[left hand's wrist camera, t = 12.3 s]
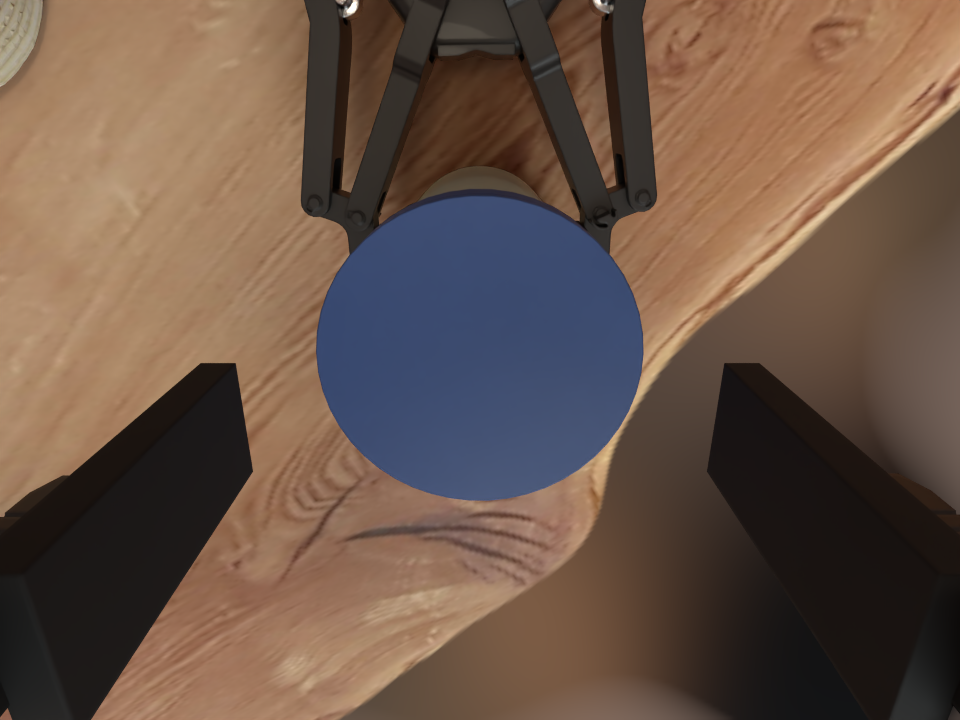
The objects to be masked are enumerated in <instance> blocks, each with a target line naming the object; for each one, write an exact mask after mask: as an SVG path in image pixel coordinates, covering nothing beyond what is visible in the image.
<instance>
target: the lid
mask: <svg viewBox="0 0 960 720" xmlns="http://www.w3.org/2000/svg"><path fill="white" fill-rule="evenodd" d="M316 355H317V365H318V373H319V377H320V381H321V385H322V389H323V393H324V395H325V398H326V400H327V403H328V405H329V408H330V410H331V412H332V414H333V416H334V417H335V419H336V421H337V423H338V425H339V426H340V428H341V429H342V430H343V432H344V433H345V435H346V436H347V437H348V439H349V440H350V441H351V443H352V444H353V445H354V446H355V447H356V448H357V449H358V450H359V451H360V452H361V453H362V454H363V455H364V456H365V457H366V458H367V459H369V460H370V461H371V462H372V463H373V464H375V465H376V466H377V467H378V468H379V469H381V470H383V471H384V472H386V473H387V474H389V475H390V476H392V477H394V478H395V479H397V480H399V481H401V482H403V483H405V484H407V485H409V486H411V487H414V488H416V489H419V490H422V491H425V492H428V493H431V494H434V495H439V496H443V497H447V498H454V499H462V500H497V499H507V498H512V497H516V496H521V495H526V494H529V493H532V492H535V491H538V490H541V489H544V488H546V487H548V486H550V485H552V484H555V483H557V482H559V481H561V480H563V479H564V478H566V477H568V476H569V475H571V474H572V473H574V472H576V471H577V470H579V469H580V468H581V467H583V466H584V465H585V464H586V463H588V462H589V461H590V460H591V459H593V458H594V457H595V456H596V455H597V454H598V453H599V452H600V451H601V450H602V449H603V448H604V446H605V445H606V444H607V443H608V442H609V441H610V439H611V438H612V437H613V435H614V434H615V433H616V431H617V430H618V429H619V427H620V426H621V424H622V422H623V420H624V419H625V417H626V415H627V413H628V412H629V409H630V407H631V404H632V402H633V399H634V397H635V395H636V392H637V388H638V384H639V380H640V376H641V370H642V362H643V332H642V326H641V320H640V314H639V311H638V308H637V305H636V301H635V298H634V295H633V293H632V291H631V289H630V287H629V285H628V283H627V280H626V278H625V276H624V274H623V273H622V272H621V270H620V269H619V267H618V266H617V264H616V263H615V261H614V260H613V258H612V257H611V256H610V255H609V254H608V252H607V251H606V250H605V249H604V248H603V247H602V246H601V245H600V244H599V243H598V242H597V240H596V239H595V238H594V237H593V236H592V235H591V234H590V233H589V232H588V231H587V230H585V229H584V228H583V227H582V226H580V225H579V224H578V223H577V222H576V221H574V220H573V219H572V218H571V217H569V216H568V215H566V214H564V213H563V212H561V211H559V210H558V209H556V208H555V207H553V206H551V205H548V204H546V203H544V202H542V201H539V200H537V199H535V198H532V197H529V196H525V195H521V194H518V193H514V192H509V191H502V190H495V189H465V190H458V191H450V192H446V193H442V194H438V195H435V196H431V197H427V198H425V199H423V200H420V201H418V202H416V203H413V204H411V205H409V206H407V207H405V208H404V209H402V210H400V211H399V212H397V213H395V214H394V215H392V216H390V217H389V218H388V219H387V220H385V221H384V222H383V223H382V224H380V225H379V226H378V227H377V228H375V229H374V230H373V231H372V232H371V233H370V234H369V235H368V236H367V237H366V238H365V239H364V240H363V241H362V242H361V243H360V245H359V246H358V247H357V248H356V249H355V250H354V251H353V252H352V253H351V254H350V255H349V257H348V258H347V259H346V261H345V262H344V264H343V265H342V267H341V268H340V269H339V271H338V272H337V274H336V276H335V278H334V280H333V282H332V284H331V286H330V288H329V290H328V292H327V295H326V298H325V301H324V304H323V306H322V309H321V313H320V318H319V324H318V329H317V345H316Z"/></svg>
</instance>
